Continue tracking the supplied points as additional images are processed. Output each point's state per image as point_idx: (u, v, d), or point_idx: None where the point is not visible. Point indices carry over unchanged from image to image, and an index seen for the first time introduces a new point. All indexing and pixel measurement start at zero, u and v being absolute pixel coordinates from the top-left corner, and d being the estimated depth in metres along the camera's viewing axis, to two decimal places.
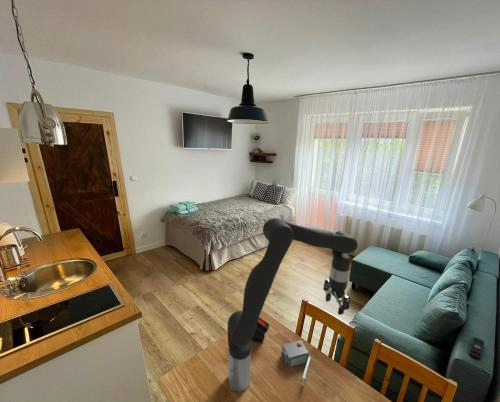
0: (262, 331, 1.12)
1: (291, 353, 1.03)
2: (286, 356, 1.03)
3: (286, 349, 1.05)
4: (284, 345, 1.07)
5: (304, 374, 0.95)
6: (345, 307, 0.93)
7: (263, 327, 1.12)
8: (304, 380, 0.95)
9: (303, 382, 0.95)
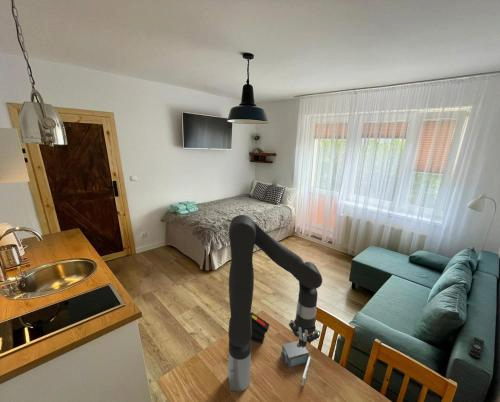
0: (262, 331, 1.12)
1: (291, 353, 1.03)
2: (286, 356, 1.03)
3: (286, 349, 1.05)
4: (284, 345, 1.07)
5: (304, 374, 0.95)
6: (312, 340, 0.89)
7: (263, 327, 1.12)
8: (304, 380, 0.95)
9: (303, 382, 0.95)
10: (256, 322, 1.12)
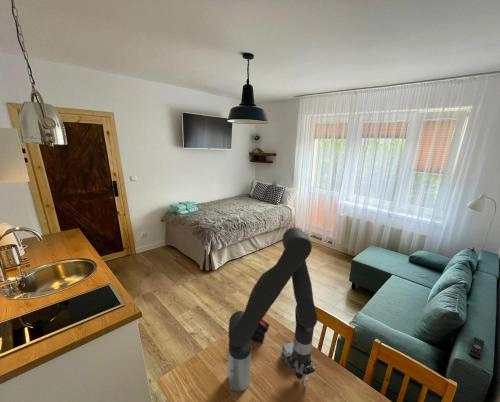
0: (262, 331, 1.12)
1: (291, 353, 1.03)
2: None
3: (286, 349, 1.05)
4: (284, 345, 1.07)
5: (306, 375, 0.95)
6: (308, 373, 0.94)
7: (263, 327, 1.12)
8: (306, 381, 0.95)
9: (305, 383, 0.94)
10: None
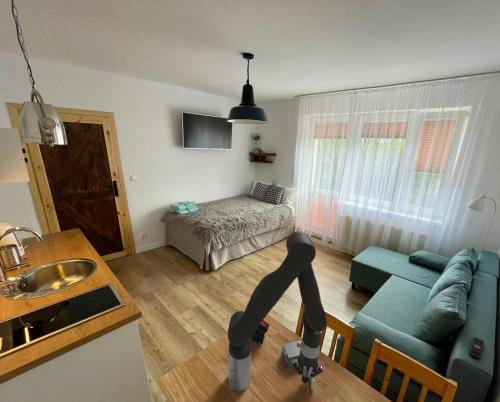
0: (262, 331, 1.12)
1: (291, 353, 1.03)
2: (286, 356, 1.03)
3: (286, 349, 1.05)
4: (284, 345, 1.07)
5: (312, 377, 0.94)
6: None
7: (263, 327, 1.12)
8: (313, 383, 0.94)
9: (313, 385, 0.94)
10: None
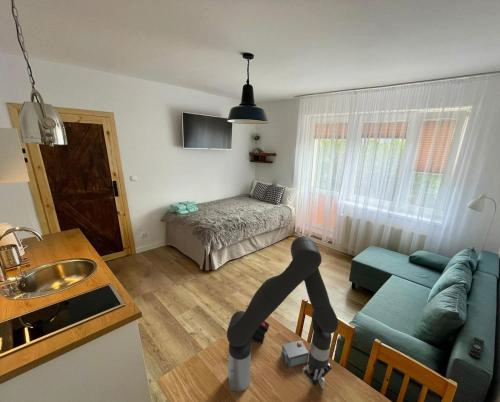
0: (262, 331, 1.12)
1: (291, 353, 1.03)
2: (286, 356, 1.03)
3: (286, 349, 1.05)
4: (284, 345, 1.07)
5: None
6: None
7: (263, 327, 1.12)
8: (323, 382, 0.94)
9: (323, 384, 0.94)
10: None
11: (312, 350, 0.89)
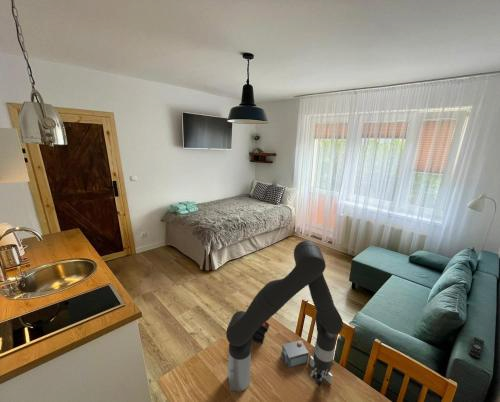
0: (262, 331, 1.12)
1: (291, 353, 1.03)
2: (286, 356, 1.03)
3: (286, 349, 1.05)
4: (284, 345, 1.07)
5: None
6: None
7: (263, 327, 1.12)
8: None
9: (331, 379, 0.96)
10: None
11: (319, 354, 0.88)
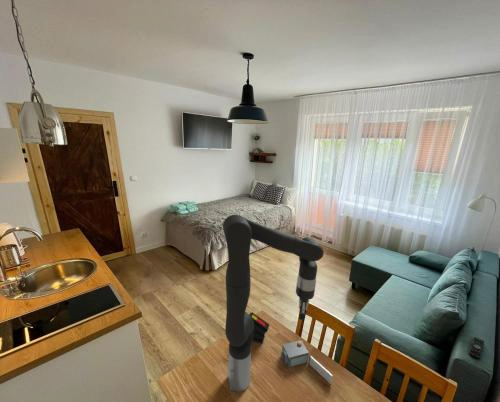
0: (262, 331, 1.12)
1: (291, 353, 1.03)
2: (286, 356, 1.03)
3: (286, 349, 1.05)
4: (284, 345, 1.07)
5: (328, 372, 0.97)
6: None
7: (263, 327, 1.12)
8: None
9: (331, 379, 0.96)
10: (256, 322, 1.12)
11: (308, 286, 0.88)
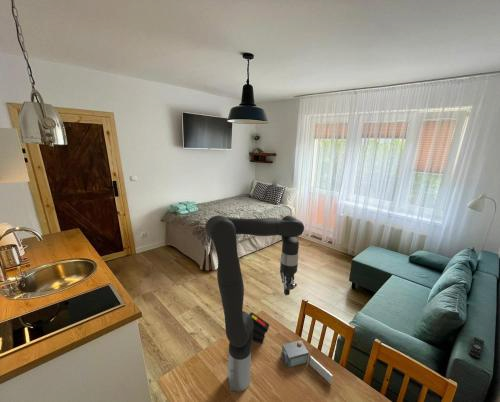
0: (262, 331, 1.12)
1: (291, 353, 1.03)
2: (286, 356, 1.03)
3: (286, 349, 1.05)
4: (284, 345, 1.07)
5: (328, 372, 0.97)
6: None
7: (263, 327, 1.12)
8: None
9: (331, 379, 0.96)
10: (256, 322, 1.12)
11: (294, 260, 0.94)
